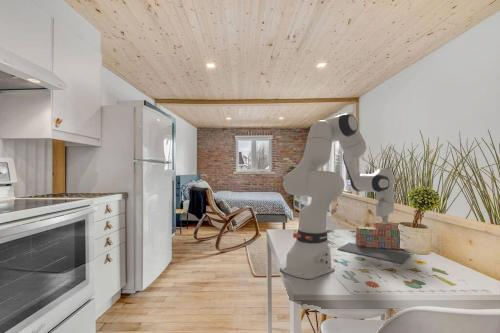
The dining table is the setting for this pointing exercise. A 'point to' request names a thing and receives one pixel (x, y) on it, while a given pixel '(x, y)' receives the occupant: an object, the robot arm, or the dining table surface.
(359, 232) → the stack of blocks
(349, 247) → the charcoal rubber mat
